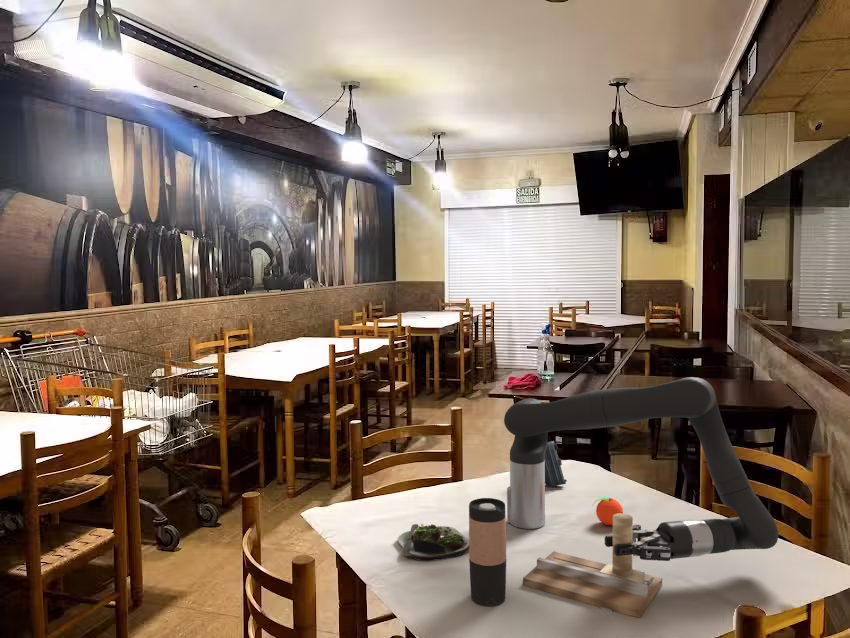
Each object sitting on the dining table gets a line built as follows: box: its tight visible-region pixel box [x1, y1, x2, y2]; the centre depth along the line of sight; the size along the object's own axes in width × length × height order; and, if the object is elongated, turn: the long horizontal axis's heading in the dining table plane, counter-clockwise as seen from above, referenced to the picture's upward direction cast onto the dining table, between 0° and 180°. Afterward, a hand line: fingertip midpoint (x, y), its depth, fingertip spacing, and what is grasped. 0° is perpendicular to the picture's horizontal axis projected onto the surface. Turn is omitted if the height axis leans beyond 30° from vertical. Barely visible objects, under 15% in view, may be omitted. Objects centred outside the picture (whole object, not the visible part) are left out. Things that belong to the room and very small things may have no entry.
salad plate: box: [397, 523, 469, 562], centre depth 164 cm, size 19×18×5 cm
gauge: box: [600, 513, 646, 584], centre depth 139 cm, size 8×6×14 cm
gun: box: [545, 440, 567, 488], centre depth 207 cm, size 3×17×15 cm
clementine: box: [591, 497, 624, 526], centre depth 174 cm, size 8×7×7 cm
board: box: [522, 550, 663, 619], centre depth 141 cm, size 25×16×4 cm, turn 55°
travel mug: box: [468, 497, 507, 607], centre depth 136 cm, size 8×8×20 cm
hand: (610, 545), depth 139 cm, fingers closed on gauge, 4 cm apart
